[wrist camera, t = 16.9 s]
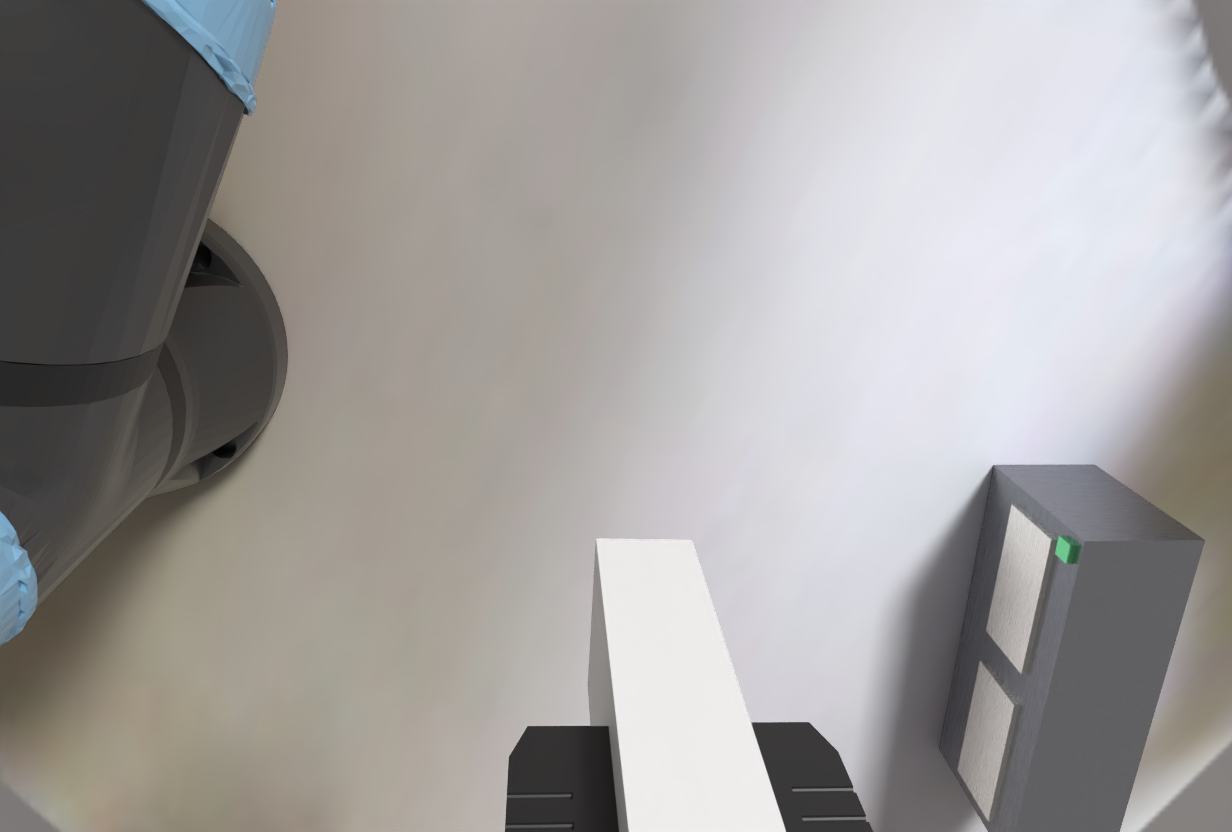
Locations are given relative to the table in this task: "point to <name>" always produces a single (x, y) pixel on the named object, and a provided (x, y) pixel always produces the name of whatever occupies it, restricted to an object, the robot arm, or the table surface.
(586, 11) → the table surface
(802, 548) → the table surface
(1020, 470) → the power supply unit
